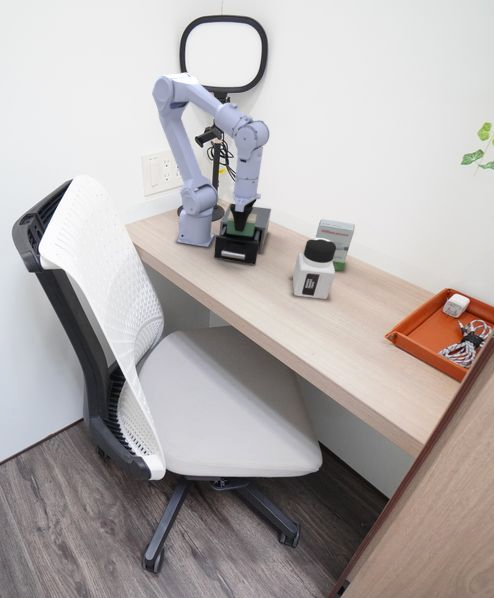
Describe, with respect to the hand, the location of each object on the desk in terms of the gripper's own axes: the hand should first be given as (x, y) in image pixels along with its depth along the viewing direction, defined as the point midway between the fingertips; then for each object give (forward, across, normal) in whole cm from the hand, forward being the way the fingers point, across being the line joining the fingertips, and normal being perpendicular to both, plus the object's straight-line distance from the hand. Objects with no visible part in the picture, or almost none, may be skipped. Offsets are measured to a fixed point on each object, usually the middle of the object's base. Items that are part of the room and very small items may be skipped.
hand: (240, 226), depth 97 cm
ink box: (+9, +3, -24) cm, 26 cm away
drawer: (+8, -1, 0) cm, 8 cm away
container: (+9, -10, -20) cm, 24 cm away
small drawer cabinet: (+9, +10, 0) cm, 13 cm away
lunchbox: (+1, 0, 0) cm, 1 cm away
